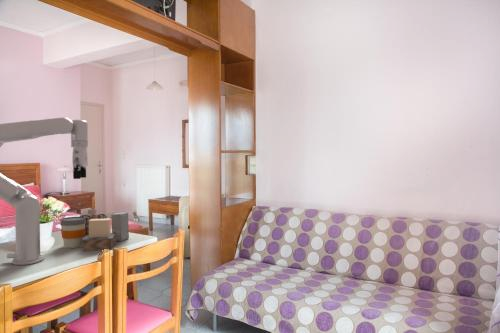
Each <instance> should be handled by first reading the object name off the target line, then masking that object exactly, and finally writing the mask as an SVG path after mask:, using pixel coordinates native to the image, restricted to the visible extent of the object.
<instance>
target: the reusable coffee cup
mask: <svg viewBox="0 0 500 333" xmlns="http://www.w3.org/2000/svg"><path fill="white" fill-rule="evenodd" d="M85 223H86V219H85V217H79V216H69V217H63V218H61V219H60V228H61V229H60V233H61V238H62V241H63V246H64V247H65V248H67V249H68V248H71V249H72V248H78V247H82V246H83V240H82V239H83V237H84V236H85ZM81 245H82V246H81Z"/></svg>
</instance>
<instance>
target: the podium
mask: <svg viewBox="0 0 500 333" xmlns="http://www.w3.org/2000/svg"><path fill="white" fill-rule="evenodd" d="M116 234H117V233H112V232H111V235H110V236H109V237H89V234H88V235H86V236H85V237H84V238H83V239H82V240H83V245H82V251H102V250H103V249H107V250H112V249H113V248H114V246H115V245H116V243H117V241H116Z"/></svg>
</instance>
